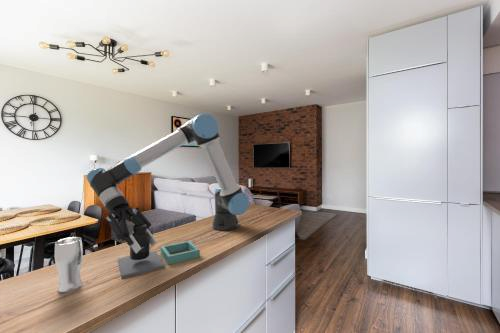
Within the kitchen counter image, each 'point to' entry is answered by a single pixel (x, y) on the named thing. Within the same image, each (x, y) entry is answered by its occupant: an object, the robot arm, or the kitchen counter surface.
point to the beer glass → (69, 263)
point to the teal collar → (179, 257)
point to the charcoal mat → (139, 265)
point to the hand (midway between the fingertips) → (146, 247)
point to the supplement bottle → (141, 242)
